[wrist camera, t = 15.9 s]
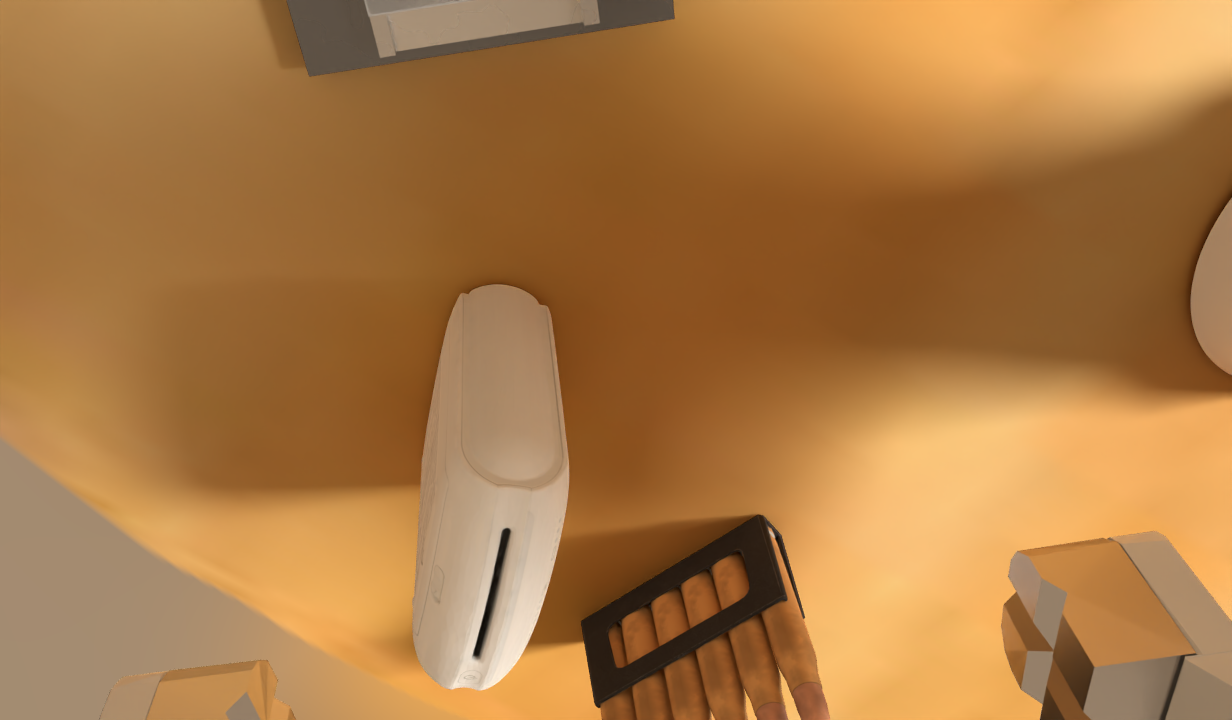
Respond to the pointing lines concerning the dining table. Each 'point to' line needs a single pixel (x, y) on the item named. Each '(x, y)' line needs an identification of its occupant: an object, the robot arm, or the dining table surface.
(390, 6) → the plate
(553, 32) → the rail panel
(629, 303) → the dining table surface
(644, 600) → the ammunition clip
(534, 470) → the photo printer
